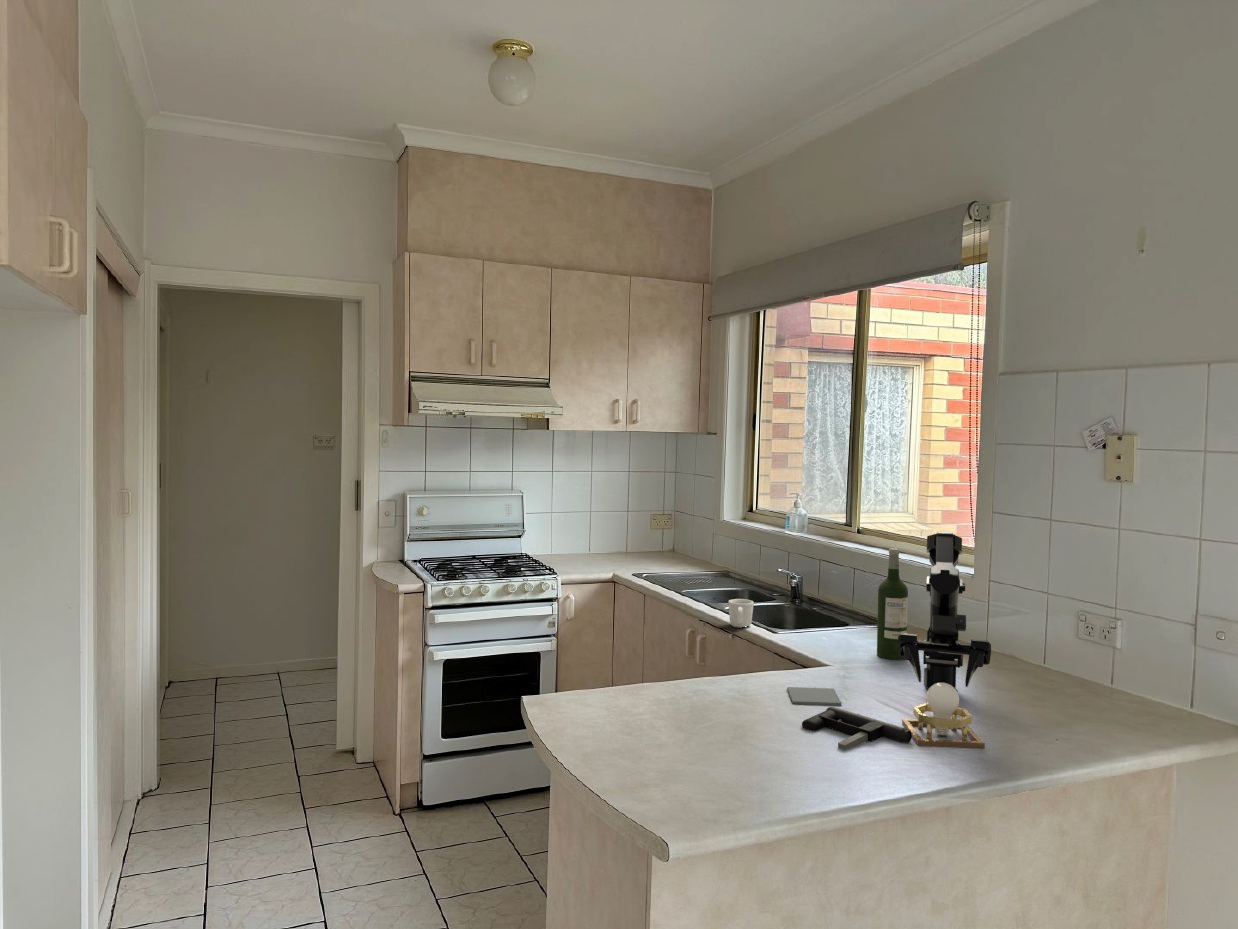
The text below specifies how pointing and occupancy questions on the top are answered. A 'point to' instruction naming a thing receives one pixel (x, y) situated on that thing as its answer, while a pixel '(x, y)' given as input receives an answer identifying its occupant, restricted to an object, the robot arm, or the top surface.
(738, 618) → the cup
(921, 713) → the ring stand
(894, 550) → the wine bottle
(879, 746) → the top surface
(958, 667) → the robot arm
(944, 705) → the lightbulb
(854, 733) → the door handle
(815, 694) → the mat
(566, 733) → the top surface
